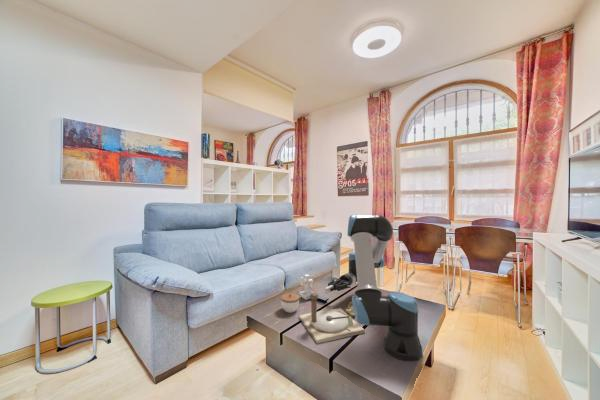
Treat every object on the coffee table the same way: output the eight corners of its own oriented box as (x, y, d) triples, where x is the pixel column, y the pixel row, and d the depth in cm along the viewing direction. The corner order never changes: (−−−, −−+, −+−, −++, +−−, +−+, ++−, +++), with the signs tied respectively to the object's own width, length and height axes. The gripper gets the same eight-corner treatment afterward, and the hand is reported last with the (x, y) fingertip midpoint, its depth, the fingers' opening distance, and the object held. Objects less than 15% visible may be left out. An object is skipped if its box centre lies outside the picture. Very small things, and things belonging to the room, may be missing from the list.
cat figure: (354, 323, 127) (391, 311, 136) (352, 307, 126) (390, 296, 135) (344, 314, 136) (379, 303, 145) (343, 299, 136) (379, 289, 144)
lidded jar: (292, 316, 131) (292, 299, 131) (277, 311, 137) (277, 295, 136) (302, 308, 140) (302, 292, 140) (287, 304, 146) (287, 289, 145)
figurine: (316, 298, 154) (316, 275, 154) (304, 301, 149) (304, 277, 149) (309, 294, 160) (309, 272, 160) (297, 297, 155) (297, 274, 155)
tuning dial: (342, 310, 134) (342, 284, 133) (357, 329, 115) (357, 299, 115) (306, 314, 130) (306, 287, 129) (315, 334, 111) (315, 302, 111)
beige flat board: (364, 332, 115) (364, 329, 115) (317, 343, 107) (317, 339, 107) (340, 310, 138) (340, 307, 138) (299, 317, 129) (299, 314, 129)
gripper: (356, 288, 146) (336, 300, 128) (338, 283, 155) (316, 294, 137) (356, 276, 146) (336, 286, 128) (338, 272, 155) (316, 281, 137)
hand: (325, 290), depth 133 cm, fingers closed
